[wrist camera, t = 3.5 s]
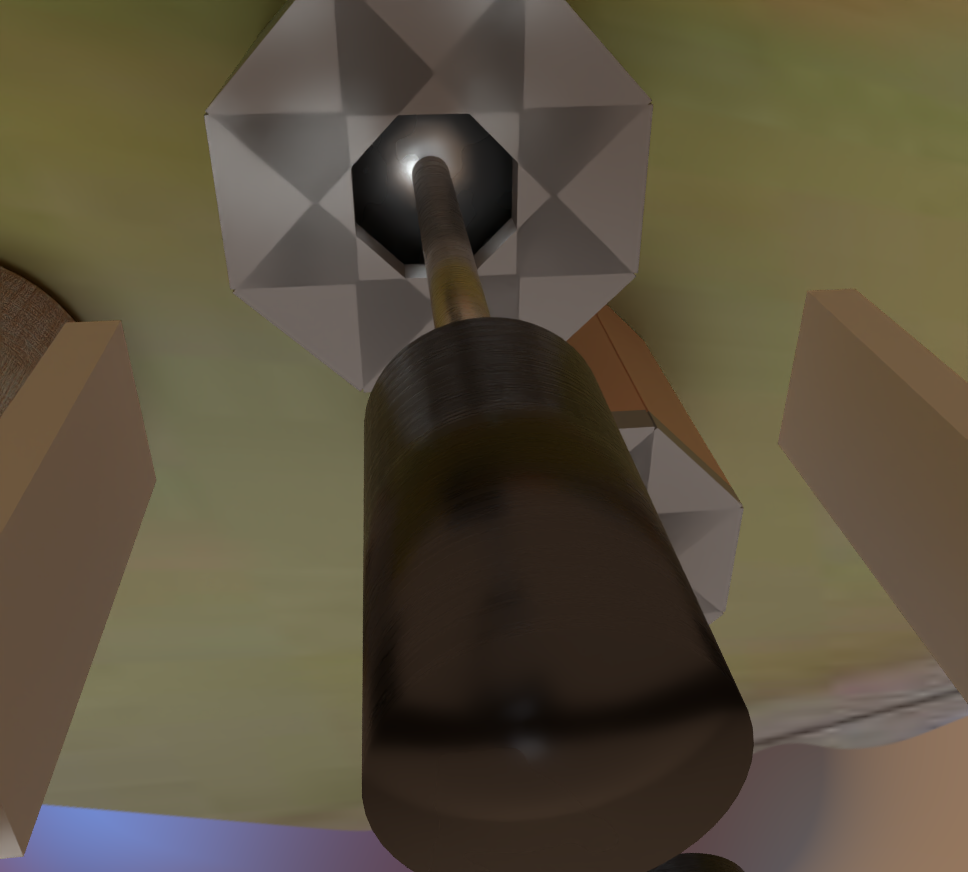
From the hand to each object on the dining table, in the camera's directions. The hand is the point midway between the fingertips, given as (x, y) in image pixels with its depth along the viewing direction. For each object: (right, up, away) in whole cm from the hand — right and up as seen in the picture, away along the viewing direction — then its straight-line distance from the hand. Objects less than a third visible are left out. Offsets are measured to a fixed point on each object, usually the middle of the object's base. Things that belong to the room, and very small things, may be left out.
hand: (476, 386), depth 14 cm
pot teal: (-2, +12, +18) cm, 22 cm away
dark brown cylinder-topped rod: (-1, +6, +11) cm, 13 cm away
